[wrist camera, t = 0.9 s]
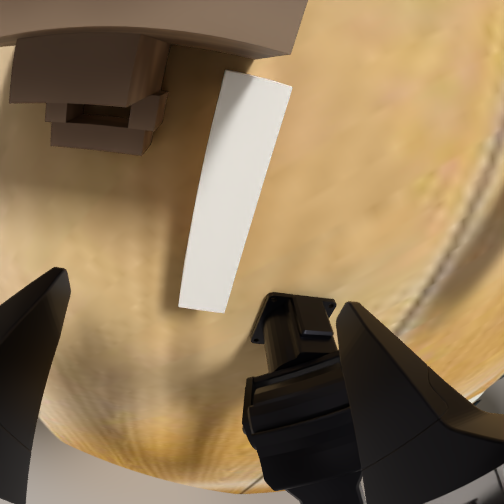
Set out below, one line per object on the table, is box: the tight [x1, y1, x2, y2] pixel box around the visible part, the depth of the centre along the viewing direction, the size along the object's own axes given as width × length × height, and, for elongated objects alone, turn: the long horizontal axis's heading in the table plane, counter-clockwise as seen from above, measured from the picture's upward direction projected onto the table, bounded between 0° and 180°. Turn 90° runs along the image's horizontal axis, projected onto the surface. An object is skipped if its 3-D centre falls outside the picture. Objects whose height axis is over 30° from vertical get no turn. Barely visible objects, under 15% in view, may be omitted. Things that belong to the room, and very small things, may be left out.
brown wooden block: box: [0, 0, 308, 156], centre depth 10 cm, size 8×16×10 cm, turn 76°
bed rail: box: [178, 69, 293, 313], centre depth 17 cm, size 14×3×5 cm, turn 166°
